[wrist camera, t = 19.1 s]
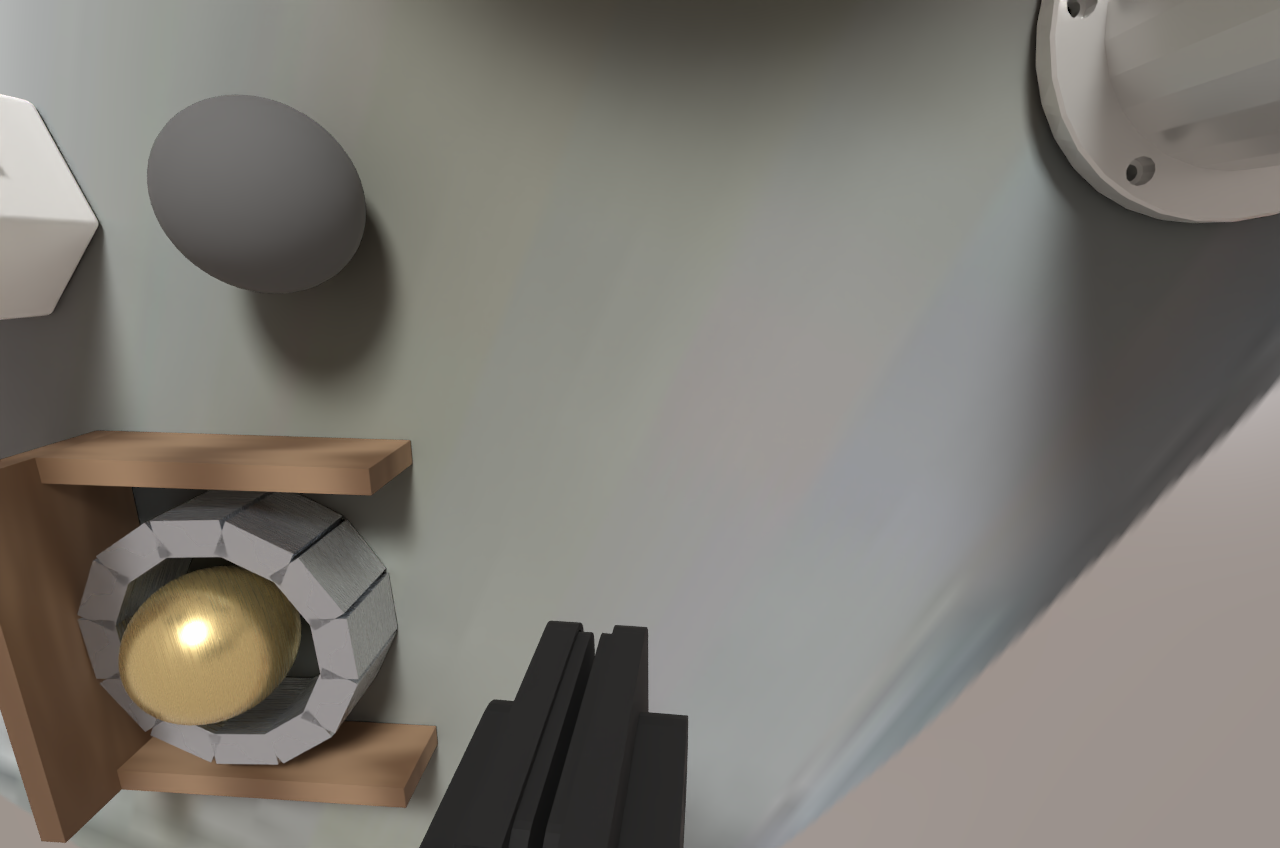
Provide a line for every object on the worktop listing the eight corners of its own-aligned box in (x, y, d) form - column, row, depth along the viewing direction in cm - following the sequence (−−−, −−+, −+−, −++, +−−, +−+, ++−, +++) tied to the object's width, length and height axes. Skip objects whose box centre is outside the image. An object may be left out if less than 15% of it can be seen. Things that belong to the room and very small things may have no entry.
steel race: (373, 483, 26) (327, 518, 22) (410, 705, 29) (374, 765, 25) (126, 488, 26) (45, 522, 23) (187, 704, 29) (123, 762, 26)
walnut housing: (410, 440, 25) (330, 495, 19) (437, 743, 29) (377, 864, 23) (96, 430, 26) (-71, 480, 20) (164, 727, 30) (41, 841, 24)
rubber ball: (388, 117, 22) (284, 68, 16) (403, 290, 23) (313, 301, 18) (226, 117, 22) (68, 69, 16) (252, 287, 24) (115, 298, 18)
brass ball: (91, 577, 24) (264, 528, 28) (130, 707, 26) (288, 642, 30) (108, 642, 20) (308, 573, 24) (152, 791, 21) (332, 703, 25)
